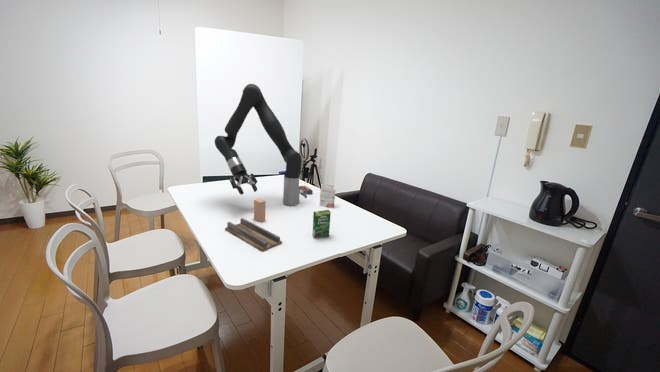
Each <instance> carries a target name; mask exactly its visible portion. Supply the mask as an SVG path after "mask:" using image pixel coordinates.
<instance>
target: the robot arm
mask: <svg viewBox="0 0 660 372" xmlns="http://www.w3.org/2000/svg"><path fill="white" fill-rule="evenodd" d="M253 108H254V111H255V112H256V113H257V115H258V118H259V121H260V123H261V125H262V127H263V129H264V130H265V132H266V134H267V135H268V137H269V138H270V139H271V141H272V142H273V143H274V144H275V146H276V147H277V149H278V151H279V153H280V155H281V157H282V158H283V161H284V163H286V164H285V171H284V172H283V196H282V204H283V205H285V206H287V207H291V206H294V207H295V206H298V204H300V195H301V194H300V189H299V186H300V175H301V173H302V172H301V171H302V161H303V157H302V155H301V154H300V153H299V152H298V151H297V150H295V149H294V147H293V146H292V145H291V144H290V142H289V140H288V138H287V137H288V136H287V134H286V132H285V129H284V127H283V125H282V124H281V122H280V120H279V119H278V117H277V116H276V114H275V113H274V111H273V110H272V109H271V108H270V106H269V105H268V103H267V101H266V99H265V97H264V95H263V93H262V91H261V88H260V87H259V85H257V84H254V83H249V84H246V85H245V87H244V88H243V89H242V93H241V97H240V100H239V103H238V105H237V107H236V108H235V110H234V111H233V114H232V115H231V117H230V118H229V119H228V121H227V124H226V125H225V127H224V132H225V133H226V134H227V135H226V136H224V135H218V136H216V137H215V138H214V145H215V147H216V149H217V150H218V152H219V153H220V154H221V155H222V156H223V157H224V160H225V161H226V164H227V166H228V168H229V170H230V172H231V175H232V176H231V177H230V178H229V179H228V180H229V182H230V185H231V187H232V189H236V190H237V191H238V193H239V194H240V195H241V196H242V195H244V194H245V192H244V190H243V187H241V186H242V185H244V184H247V185H250V186H251V188H252V190H253V192H254V193H256V192H258V187H257V183H258V180H257V178H256V177H255V174H254V173H250V174H248V173H247V169H246V167H245V165H244V163H243V161H242V159H241V158H240V157H239V154H238V152H237V151H236V150H235V149H234V148H233V147H234V146H235V143H236V140H237V137H238V134H239V132H240V130H241V128H242V126H243V124H244V122H245V120H246V118H247V117H248V114H249V113H250V111H251V110H252V109H253Z"/></svg>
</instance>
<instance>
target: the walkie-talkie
mask: <svg viewBox="0 0 660 372" xmlns="http://www.w3.org/2000/svg"><path fill="white" fill-rule="evenodd" d="M299 189H300V195H302V196H304V197H306V198H308V195H312V194H313V190H312V189H311V188H310V187H308V186H307V185H299ZM306 194H307V195H306Z"/></svg>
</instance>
